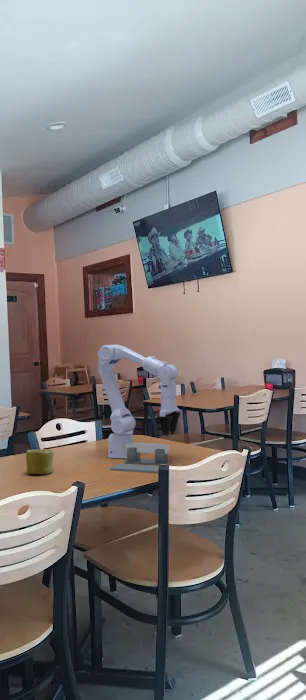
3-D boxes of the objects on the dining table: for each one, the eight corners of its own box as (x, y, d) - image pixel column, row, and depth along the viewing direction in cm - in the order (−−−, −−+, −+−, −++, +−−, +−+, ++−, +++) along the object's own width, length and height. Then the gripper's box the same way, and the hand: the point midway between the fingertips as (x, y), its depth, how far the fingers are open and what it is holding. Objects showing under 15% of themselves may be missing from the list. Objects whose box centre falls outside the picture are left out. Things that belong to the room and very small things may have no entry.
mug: (41, 473, 192) (38, 443, 195) (21, 479, 197) (18, 450, 200) (67, 472, 201) (63, 444, 204) (46, 478, 207) (43, 451, 210)
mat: (109, 469, 201) (109, 468, 201) (118, 465, 208) (118, 463, 208) (157, 473, 195) (157, 471, 195) (164, 468, 201) (164, 466, 201)
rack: (124, 463, 211) (124, 448, 210) (131, 459, 216) (130, 445, 216) (165, 465, 205) (164, 450, 205) (170, 462, 210) (170, 447, 210)
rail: (125, 451, 212) (125, 443, 212) (129, 450, 215) (128, 442, 215) (166, 453, 206) (166, 445, 206) (169, 452, 209) (168, 444, 209)
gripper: (172, 399, 205) (172, 437, 206) (184, 395, 219) (185, 430, 219) (153, 399, 208) (154, 436, 208) (167, 394, 221) (168, 429, 222)
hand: (169, 433), depth 214 cm, fingers open, 7 cm apart
